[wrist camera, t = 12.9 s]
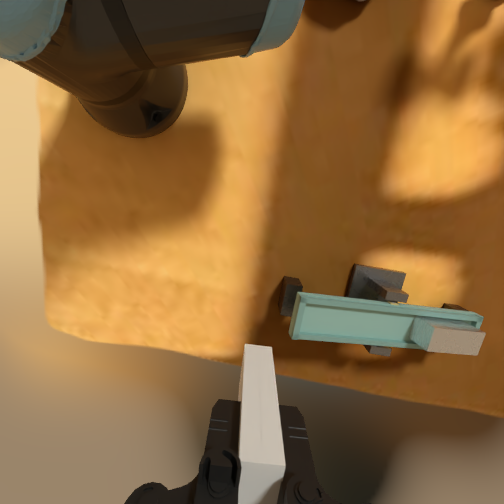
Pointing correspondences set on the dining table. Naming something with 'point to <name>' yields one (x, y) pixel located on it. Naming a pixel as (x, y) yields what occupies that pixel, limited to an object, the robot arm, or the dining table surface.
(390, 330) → the beam
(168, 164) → the dining table surface
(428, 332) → the block
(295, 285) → the stand
